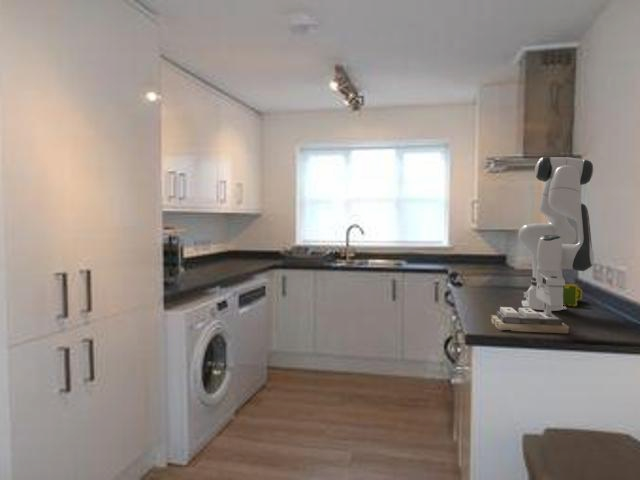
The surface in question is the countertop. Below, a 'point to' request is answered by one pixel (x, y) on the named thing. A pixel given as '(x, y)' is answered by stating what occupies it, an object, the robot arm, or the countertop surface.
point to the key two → (528, 313)
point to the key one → (509, 312)
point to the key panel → (529, 324)
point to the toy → (571, 294)
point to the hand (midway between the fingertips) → (547, 314)
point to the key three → (547, 316)
